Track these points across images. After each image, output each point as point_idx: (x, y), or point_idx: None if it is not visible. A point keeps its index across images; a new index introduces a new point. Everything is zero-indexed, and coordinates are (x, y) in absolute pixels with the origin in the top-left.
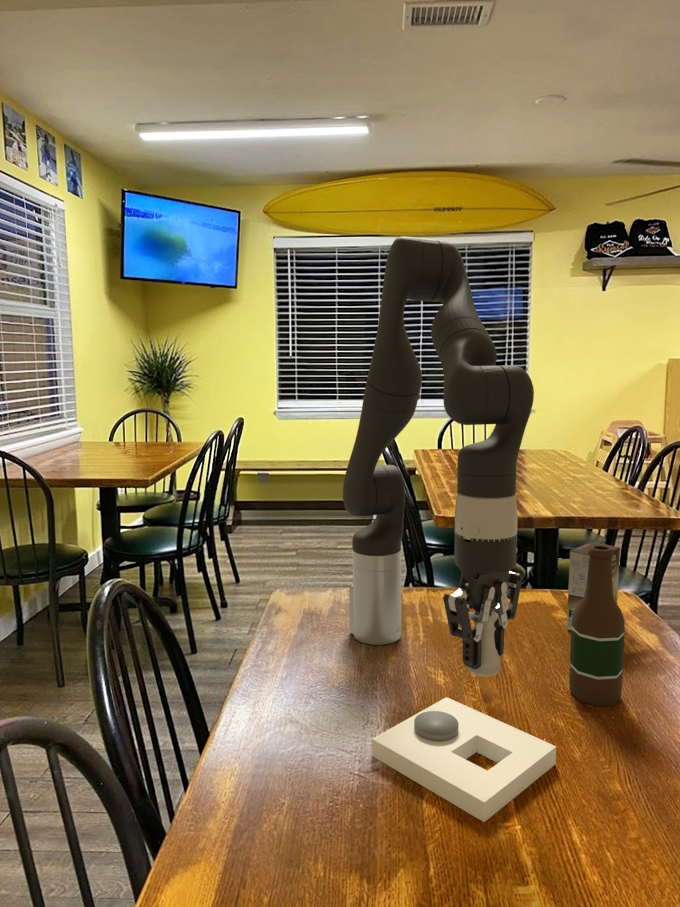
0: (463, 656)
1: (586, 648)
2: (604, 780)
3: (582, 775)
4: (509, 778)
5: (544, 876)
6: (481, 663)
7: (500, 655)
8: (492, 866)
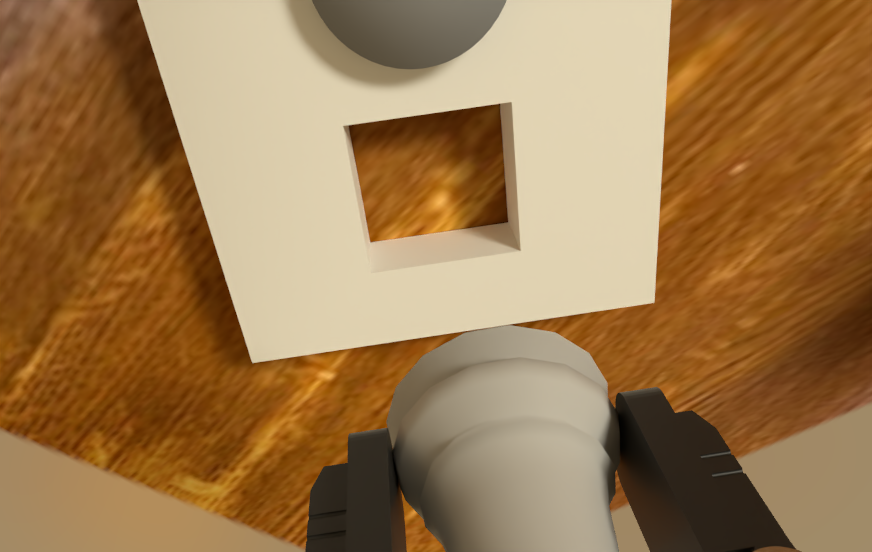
0: (310, 515)
1: None
2: (656, 375)
3: (636, 337)
4: (398, 331)
5: (259, 484)
6: (419, 513)
7: (621, 478)
8: (176, 424)
